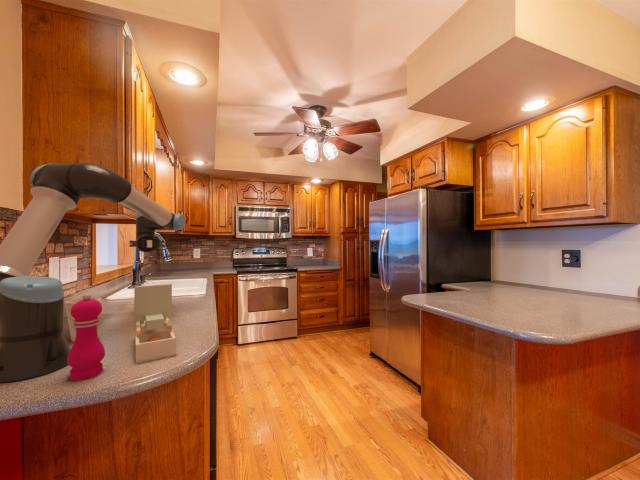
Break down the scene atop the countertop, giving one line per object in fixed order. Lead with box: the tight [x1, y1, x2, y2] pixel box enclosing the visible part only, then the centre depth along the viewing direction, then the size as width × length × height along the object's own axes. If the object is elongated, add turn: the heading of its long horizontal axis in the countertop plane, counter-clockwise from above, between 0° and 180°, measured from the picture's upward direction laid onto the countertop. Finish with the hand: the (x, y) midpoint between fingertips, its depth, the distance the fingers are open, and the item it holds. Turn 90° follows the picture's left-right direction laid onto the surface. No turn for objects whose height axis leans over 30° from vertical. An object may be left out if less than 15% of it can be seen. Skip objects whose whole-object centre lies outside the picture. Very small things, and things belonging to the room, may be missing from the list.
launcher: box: [135, 318, 173, 336], centre depth 91 cm, size 9×17×8 cm, turn 34°
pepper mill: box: [67, 292, 106, 381], centre depth 70 cm, size 7×7×20 cm
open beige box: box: [134, 329, 177, 365], centre depth 82 cm, size 10×10×5 cm
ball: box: [148, 336, 162, 342], centre depth 84 cm, size 4×4×4 cm
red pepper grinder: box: [64, 297, 103, 343], centre depth 96 cm, size 10×9×13 cm
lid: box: [133, 283, 173, 330], centre depth 85 cm, size 10×8×12 cm
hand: (149, 243), depth 105 cm, fingers closed
